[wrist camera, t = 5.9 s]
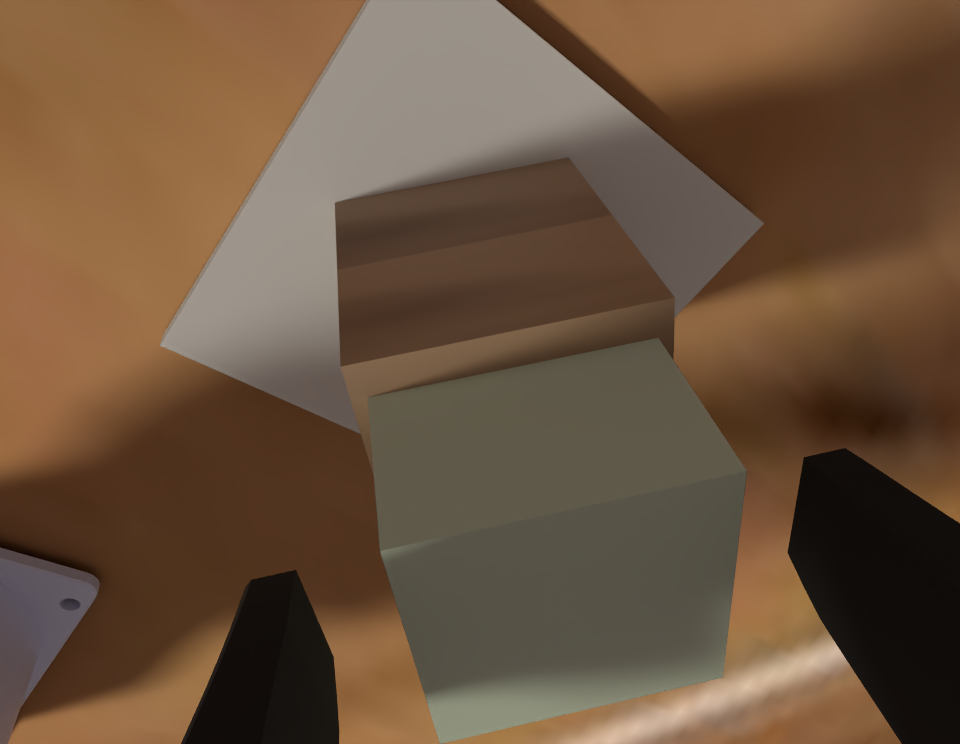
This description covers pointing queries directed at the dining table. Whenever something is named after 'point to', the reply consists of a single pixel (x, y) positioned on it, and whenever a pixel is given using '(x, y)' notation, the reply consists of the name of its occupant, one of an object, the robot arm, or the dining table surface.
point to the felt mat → (429, 182)
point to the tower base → (463, 212)
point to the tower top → (495, 308)
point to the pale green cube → (557, 535)
